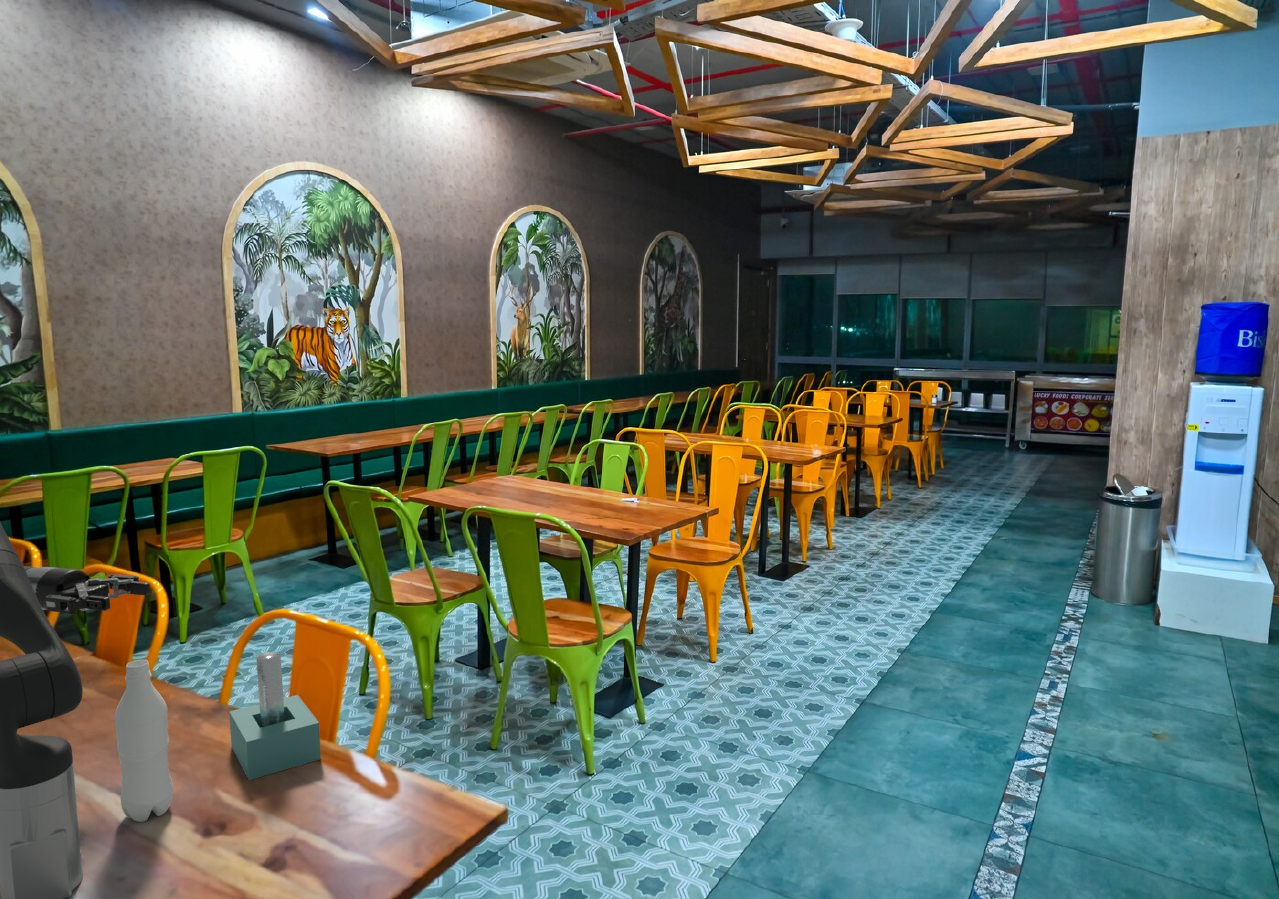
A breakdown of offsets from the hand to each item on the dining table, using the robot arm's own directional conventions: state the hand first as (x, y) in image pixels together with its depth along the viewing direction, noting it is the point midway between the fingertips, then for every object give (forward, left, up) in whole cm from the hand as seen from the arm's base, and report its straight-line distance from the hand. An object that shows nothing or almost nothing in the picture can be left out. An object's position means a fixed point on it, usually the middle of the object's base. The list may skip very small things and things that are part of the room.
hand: (129, 596), depth 144 cm
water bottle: (-21, +1, -30) cm, 37 cm away
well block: (-13, -20, -30) cm, 38 cm away
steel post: (-12, -20, -29) cm, 38 cm away
